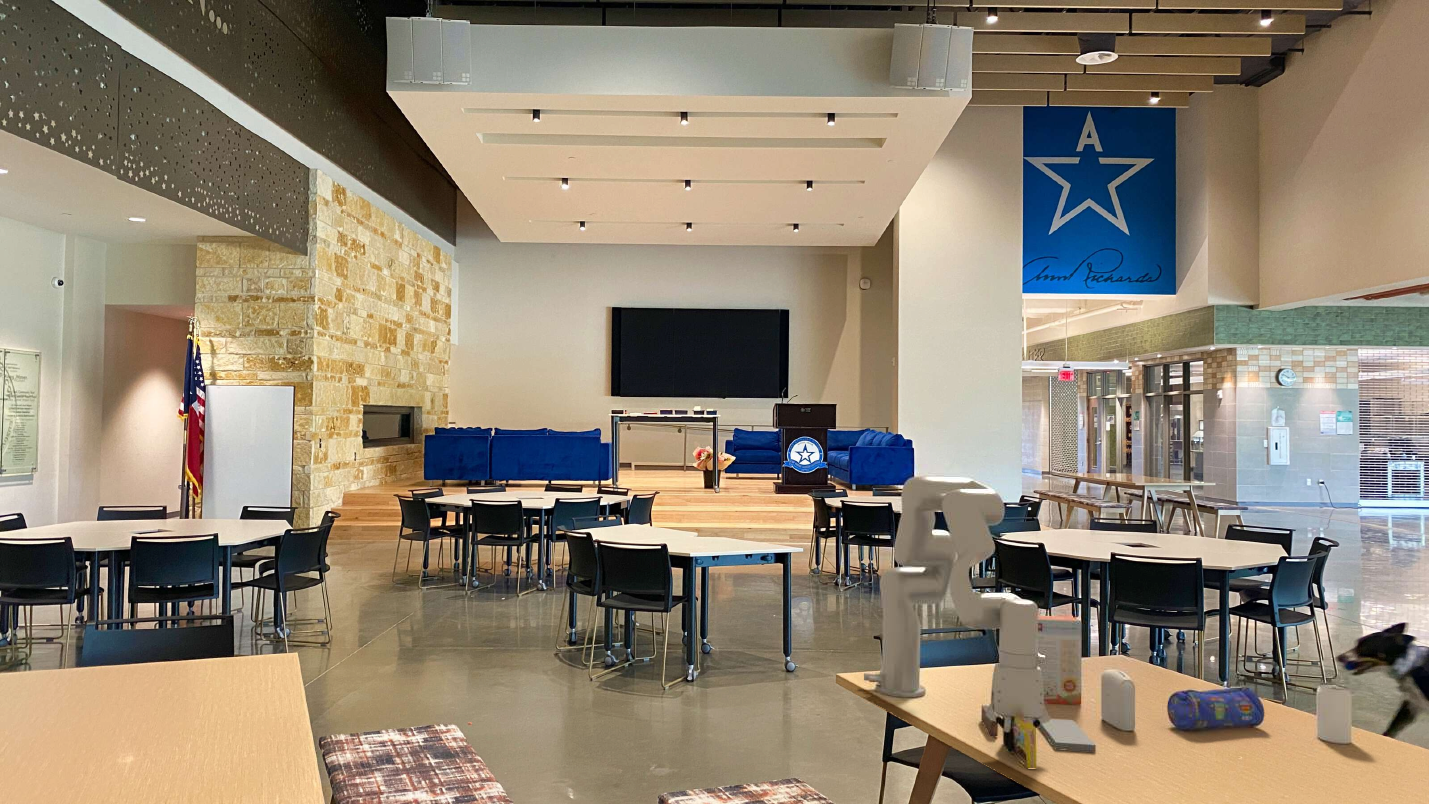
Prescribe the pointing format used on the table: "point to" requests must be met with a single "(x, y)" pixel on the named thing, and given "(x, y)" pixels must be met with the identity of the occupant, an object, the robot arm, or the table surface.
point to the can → (1334, 713)
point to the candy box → (1024, 740)
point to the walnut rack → (989, 722)
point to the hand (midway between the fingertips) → (1017, 749)
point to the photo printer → (1118, 700)
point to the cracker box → (1060, 658)
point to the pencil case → (1215, 708)
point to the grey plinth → (1067, 735)
